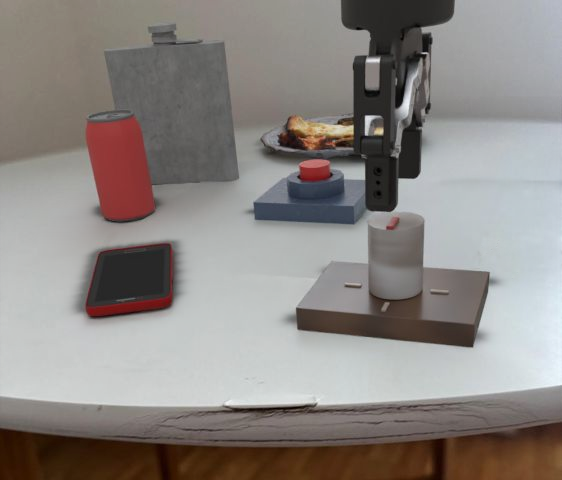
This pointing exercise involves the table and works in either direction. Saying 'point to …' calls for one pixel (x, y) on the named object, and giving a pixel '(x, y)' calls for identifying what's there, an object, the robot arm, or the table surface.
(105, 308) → the cell phone
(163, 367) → the table surface
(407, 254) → the tap knob
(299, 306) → the panel
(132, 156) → the beer can
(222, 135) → the hip flask
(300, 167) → the red button
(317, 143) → the food plate
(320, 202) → the button block
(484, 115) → the table surface
